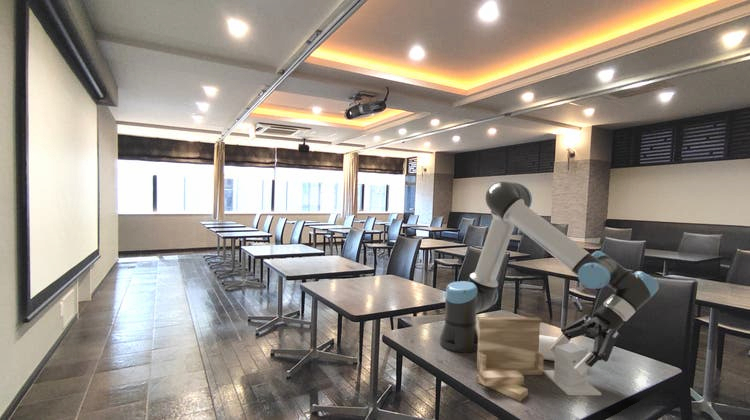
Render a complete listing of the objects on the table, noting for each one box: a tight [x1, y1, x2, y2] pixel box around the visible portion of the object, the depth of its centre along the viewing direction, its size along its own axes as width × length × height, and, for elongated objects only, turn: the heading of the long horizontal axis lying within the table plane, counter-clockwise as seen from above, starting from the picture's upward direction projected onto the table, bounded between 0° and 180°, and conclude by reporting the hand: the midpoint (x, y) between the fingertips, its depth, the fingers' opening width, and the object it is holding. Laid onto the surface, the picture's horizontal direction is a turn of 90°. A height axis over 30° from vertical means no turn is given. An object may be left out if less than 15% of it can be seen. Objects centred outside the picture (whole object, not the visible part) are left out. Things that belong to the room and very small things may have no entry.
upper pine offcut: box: [478, 370, 525, 387], centre depth 107 cm, size 12×4×2 cm, turn 96°
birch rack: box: [476, 316, 545, 376], centre depth 118 cm, size 5×21×17 cm, turn 93°
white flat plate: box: [543, 369, 602, 396], centre depth 112 cm, size 14×10×1 cm
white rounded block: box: [539, 334, 572, 362], centre depth 130 cm, size 12×10×8 cm
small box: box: [553, 341, 589, 387], centre depth 112 cm, size 8×6×10 cm
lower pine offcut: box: [475, 373, 529, 402], centre depth 107 cm, size 14×4×2 cm, turn 42°
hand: (563, 361), depth 111 cm, fingers open, 13 cm apart
